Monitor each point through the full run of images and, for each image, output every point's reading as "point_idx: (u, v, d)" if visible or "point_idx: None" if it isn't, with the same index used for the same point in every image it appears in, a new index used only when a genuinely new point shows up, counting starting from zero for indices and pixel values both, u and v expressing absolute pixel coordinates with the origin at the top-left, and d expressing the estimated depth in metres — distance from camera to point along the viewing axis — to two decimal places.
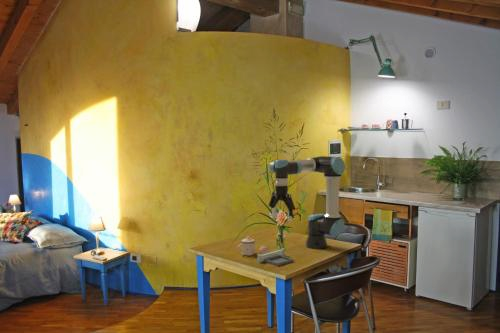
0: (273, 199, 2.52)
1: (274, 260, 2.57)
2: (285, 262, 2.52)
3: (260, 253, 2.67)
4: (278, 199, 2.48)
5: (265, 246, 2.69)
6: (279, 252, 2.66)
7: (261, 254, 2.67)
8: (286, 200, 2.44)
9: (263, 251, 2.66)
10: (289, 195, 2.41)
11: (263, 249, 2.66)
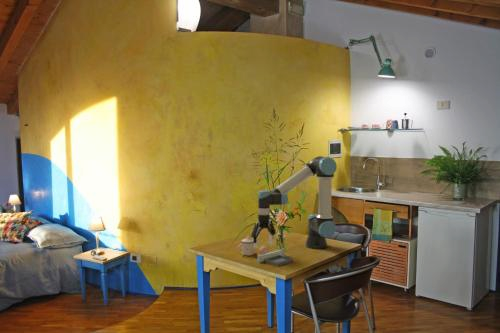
0: (271, 227, 2.72)
1: (274, 260, 2.57)
2: (285, 262, 2.52)
3: (260, 253, 2.67)
4: None
5: (265, 246, 2.69)
6: (279, 252, 2.66)
7: (261, 254, 2.67)
8: (259, 228, 2.65)
9: (263, 251, 2.66)
10: (255, 223, 2.63)
11: (263, 249, 2.66)
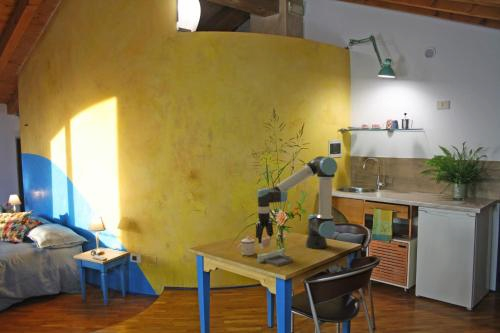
0: (270, 227, 2.71)
1: (274, 260, 2.57)
2: (285, 262, 2.52)
3: None
4: None
5: (266, 238, 2.68)
6: (279, 252, 2.66)
7: None
8: (260, 227, 2.66)
9: (264, 243, 2.66)
10: (256, 224, 2.63)
11: (264, 241, 2.66)
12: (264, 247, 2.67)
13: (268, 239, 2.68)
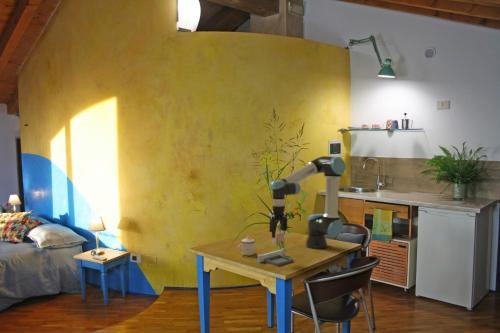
0: (284, 221, 2.58)
1: (274, 260, 2.57)
2: (285, 262, 2.52)
3: None
4: None
5: None
6: (279, 252, 2.66)
7: None
8: (275, 221, 2.52)
9: (278, 237, 2.52)
10: (270, 217, 2.50)
11: (278, 235, 2.52)
12: None
13: (282, 234, 2.55)
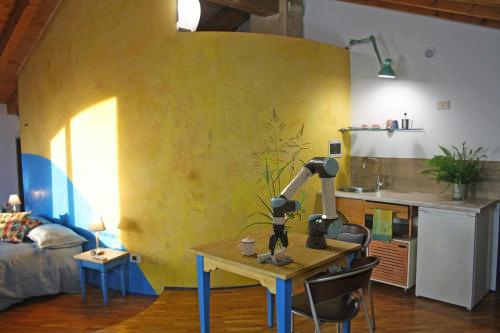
0: (284, 238, 2.59)
1: None
2: (285, 262, 2.52)
3: (275, 258, 2.54)
4: None
5: (280, 251, 2.56)
6: None
7: (276, 259, 2.54)
8: (274, 239, 2.53)
9: (278, 256, 2.53)
10: (270, 235, 2.51)
11: (278, 254, 2.53)
12: None
13: None
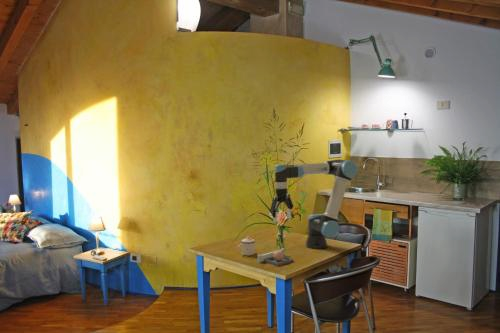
0: (288, 201, 2.70)
1: (274, 260, 2.57)
2: (285, 262, 2.52)
3: (275, 258, 2.54)
4: None
5: (280, 251, 2.56)
6: None
7: (276, 259, 2.54)
8: (277, 202, 2.62)
9: (278, 256, 2.53)
10: (274, 198, 2.60)
11: (278, 254, 2.53)
12: None
13: None
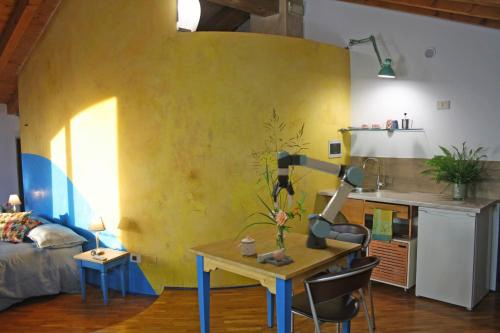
0: (290, 187, 2.80)
1: (274, 260, 2.57)
2: (285, 262, 2.52)
3: (275, 258, 2.54)
4: None
5: (280, 251, 2.56)
6: None
7: (276, 259, 2.54)
8: (278, 188, 2.72)
9: (278, 256, 2.53)
10: (275, 183, 2.71)
11: (278, 254, 2.53)
12: None
13: None
